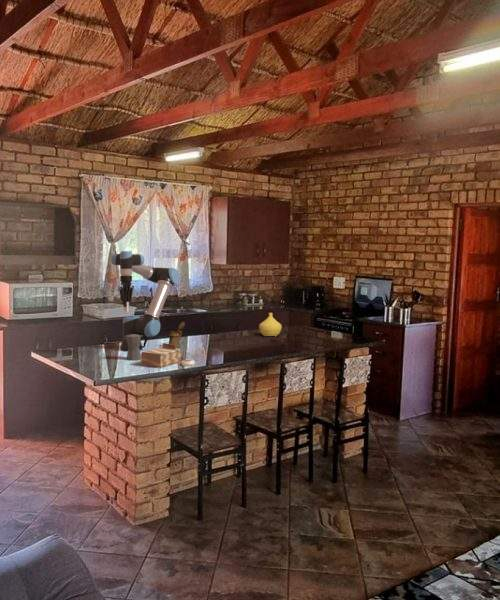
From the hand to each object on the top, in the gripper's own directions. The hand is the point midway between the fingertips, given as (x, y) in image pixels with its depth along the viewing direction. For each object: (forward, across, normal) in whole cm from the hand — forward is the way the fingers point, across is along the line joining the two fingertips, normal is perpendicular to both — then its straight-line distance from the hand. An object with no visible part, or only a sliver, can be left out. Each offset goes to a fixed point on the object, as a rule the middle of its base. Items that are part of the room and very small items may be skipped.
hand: (126, 311), depth 359 cm
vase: (+30, -131, +41) cm, 140 cm away
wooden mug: (+30, -48, +6) cm, 57 cm away
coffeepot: (+30, +3, +10) cm, 31 cm away
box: (+29, +6, +32) cm, 44 cm away
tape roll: (+30, 0, +48) cm, 56 cm away
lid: (+22, +6, +32) cm, 39 cm away
